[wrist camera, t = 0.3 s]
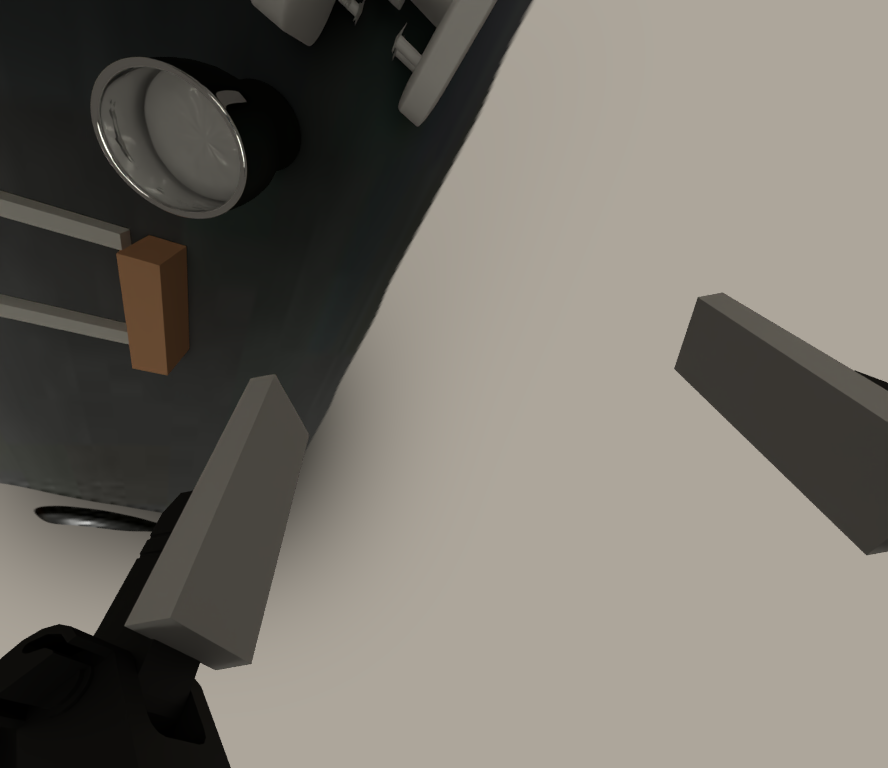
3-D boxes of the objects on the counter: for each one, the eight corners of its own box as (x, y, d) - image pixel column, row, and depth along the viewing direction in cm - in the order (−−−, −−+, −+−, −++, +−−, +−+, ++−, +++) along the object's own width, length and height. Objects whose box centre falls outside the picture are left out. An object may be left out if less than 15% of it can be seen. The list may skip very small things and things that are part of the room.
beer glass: (315, 101, 28) (260, 102, 17) (297, 191, 32) (242, 243, 20) (217, 49, 26) (73, 10, 14) (210, 153, 30) (91, 188, 18)
